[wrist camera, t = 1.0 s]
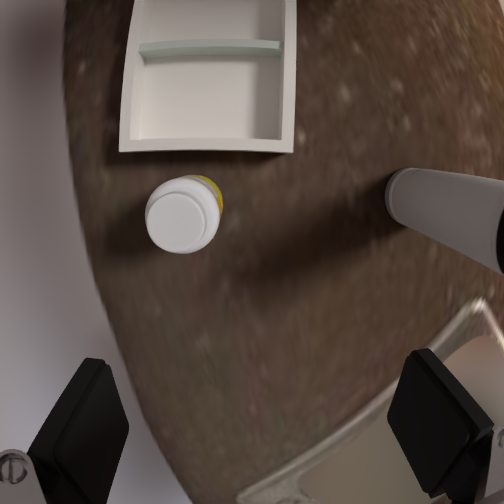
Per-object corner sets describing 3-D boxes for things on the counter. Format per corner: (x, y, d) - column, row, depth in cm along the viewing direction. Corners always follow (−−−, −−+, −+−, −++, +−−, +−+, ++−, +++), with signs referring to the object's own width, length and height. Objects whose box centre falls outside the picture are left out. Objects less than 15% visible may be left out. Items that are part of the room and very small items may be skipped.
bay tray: (150, -17, 22) (142, -33, 18) (290, -19, 23) (296, -35, 19) (131, 152, 28) (118, 152, 24) (286, 153, 28) (292, 152, 25)
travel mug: (402, 153, 29) (558, 167, 9) (439, 191, 30) (583, 236, 11) (370, 199, 30) (517, 259, 11) (410, 235, 31) (545, 314, 12)
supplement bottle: (197, 242, 30) (178, 281, 21) (156, 204, 29) (118, 226, 19) (236, 201, 30) (235, 222, 20) (194, 161, 28) (171, 162, 18)
